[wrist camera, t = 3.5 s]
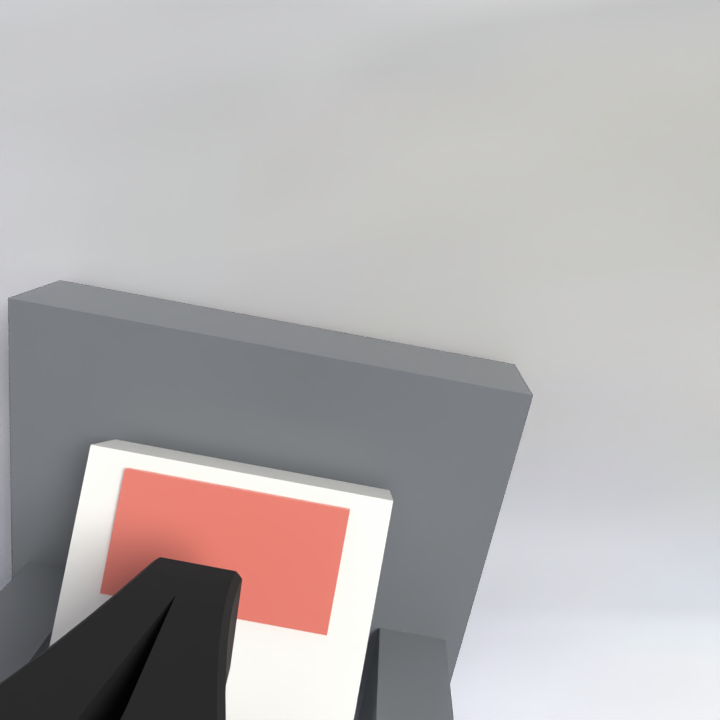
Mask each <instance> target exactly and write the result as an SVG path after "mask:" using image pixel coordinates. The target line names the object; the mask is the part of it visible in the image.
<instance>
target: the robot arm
mask: <svg viewBox="0 0 720 720" xmlns="http://www.w3.org/2000/svg"><path fill="white" fill-rule="evenodd" d="M241 585H242V578H241V577H240V575H239V574H238V573H237V571H233V570H227V569H222V568H216V567H211V566H206V565H200V564H195V563H190V562H184V561H179V560H173V559H168V558H163V557H159V558H158V559H156V560H154V561H153V562H152V563H150V564H149V565H148V566H147V567H146V568H145V569H143V570H142V571H141V572H140V573H139V574H138V575H136V576H135V577H134V578H133V579H132V580H131V581H130V582H128V583H127V584H126V585H125V586H124V587H123V588H121V589H120V590H119V591H118V592H117V593H116V594H114V595H113V596H112V597H111V598H110V599H108V600H107V601H106V602H105V603H104V604H102V605H101V606H100V607H99V608H98V609H96V610H95V611H94V612H93V613H92V614H90V615H89V616H88V617H87V618H85V619H84V620H83V621H82V622H80V623H79V624H78V625H76V626H75V627H74V628H73V629H71V630H70V631H69V632H68V633H66V634H65V635H64V636H63V637H61V638H60V639H59V640H57V641H56V642H55V643H54V644H52V645H51V646H50V647H49V648H47V649H46V650H45V651H43V652H42V653H41V654H39V655H38V656H37V657H35V658H34V659H33V660H31V661H30V662H29V663H27V664H26V665H24V666H23V667H22V668H20V669H19V670H18V671H16V672H15V673H13V674H12V675H11V676H9V677H8V678H6V679H5V680H4V681H2V682H1V683H0V720H226V683H227V679H228V675H229V671H230V666H231V659H232V651H233V644H234V636H235V629H236V622H237V614H238V607H239V600H240V592H241Z"/></svg>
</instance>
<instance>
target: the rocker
mask: <svg viewBox="0 0 720 720" xmlns="http://www.w3.org/2000/svg"><path fill="white" fill-rule="evenodd" d="M392 505H393V499H392V496H391V493H390V490H386V489H381V488H375V487H370V486H365V485H359V484H354V483H348V482H343V481H338V480H332V479H327V478H321V477H316V476H311V475H305V474H300V473H294V472H289V471H284V470H278V469H273V468H268V467H262V466H257V465H251V464H246V463H241V462H235V461H230V460H224V459H219V458H214V457H208V456H203V455H197V454H192V453H187V452H181V451H176V450H170V449H165V448H160V447H154V446H149V445H143V444H138V443H133V442H127V441H122V440H117V439H115V440H110V441H105V442H101V443H96V444H92V445H91V446H90V451H89V455H88V460H87V465H86V470H85V475H84V480H83V485H82V490H81V495H80V499H79V504H78V509H77V514H76V519H75V524H74V529H73V534H72V538H71V543H70V548H69V553H68V558H67V563H66V568H65V573H64V578H63V582H62V587H61V592H60V597H59V602H58V607H57V612H56V617H55V621H54V626H53V631H52V636H51V641H50V646H51V645H52V644H54V643H55V642H56V641H57V640H59V639H60V638H61V637H63V636H64V635H65V634H66V633H68V632H69V631H70V630H71V629H73V628H74V627H75V626H76V625H78V624H79V623H80V622H82V621H83V620H84V619H85V618H87V617H88V616H89V615H90V614H92V613H93V612H94V611H95V610H96V609H98V608H99V607H100V606H101V605H102V604H104V603H105V602H106V601H107V600H108V599H110V598H111V597H112V596H113V595H114V594H116V593H117V592H118V591H119V590H120V589H121V588H123V587H124V586H125V585H126V584H127V583H128V582H130V581H131V580H132V579H133V578H134V577H135V576H136V575H138V574H139V573H140V572H141V571H142V570H143V569H145V568H146V567H147V566H148V565H149V564H150V563H152V562H153V561H154V560H156V559H158V558H159V557H163V558H168V559H173V560H179V561H184V562H190V563H195V564H200V565H206V566H211V567H216V568H222V569H227V570H233V571H237V573H238V574H239V575H240V577H241V578H242V585H241V592H240V600H239V607H238V614H237V622H236V629H235V636H234V644H233V651H232V659H231V666H230V671H229V675H228V679H227V683H226V720H354V715H355V710H356V704H357V698H358V693H359V687H360V682H361V676H362V671H363V665H364V660H365V654H366V649H367V643H368V638H369V632H370V627H371V621H372V615H373V610H374V604H375V599H376V593H377V588H378V582H379V577H380V571H381V566H382V560H383V555H384V549H385V544H386V538H387V533H388V527H389V521H390V516H391V510H392ZM50 646H49V647H50Z"/></svg>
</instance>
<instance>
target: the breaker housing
mask: <svg viewBox="0 0 720 720" xmlns="http://www.w3.org/2000/svg"><path fill="white" fill-rule="evenodd" d="M8 323H9V396H10V470H11V544H12V580H11V581H10V582H9V583H8V584H7V585H6V587H5V588H4V589H3V590H2V591H1V592H0V683H1V682H2V681H4V680H5V679H6V678H8V677H9V676H11V675H12V674H13V673H15V672H16V671H18V670H19V669H20V668H22V667H23V666H24V665H26V664H27V663H29V662H30V661H31V660H33V659H34V658H35V657H37V656H38V655H39V654H41V653H42V652H43V651H45V650H46V649H47V648H49V646H50V641H51V636H52V631H53V626H54V621H55V617H56V612H57V607H58V602H59V597H60V592H61V587H62V582H63V578H64V573H65V568H66V563H67V558H68V553H69V548H70V543H71V538H72V534H73V529H74V524H75V519H76V514H77V509H78V504H79V499H80V495H81V490H82V485H83V480H84V475H85V470H86V465H87V460H88V455H89V451H90V446H91V445H92V444H96V443H101V442H105V441H110V440H115V439H117V440H122V441H127V442H133V443H138V444H143V445H149V446H154V447H160V448H165V449H170V450H176V451H181V452H187V453H192V454H197V455H203V456H208V457H214V458H219V459H224V460H230V461H235V462H241V463H246V464H251V465H257V466H262V467H268V468H273V469H278V470H284V471H289V472H294V473H300V474H305V475H311V476H316V477H321V478H327V479H332V480H338V481H343V482H348V483H354V484H359V485H365V486H370V487H375V488H381V489H386V490H390V493H391V496H392V499H393V505H392V510H391V516H390V521H389V527H388V533H387V538H386V544H385V549H384V555H383V560H382V566H381V571H380V577H379V582H378V588H377V593H376V599H375V604H374V610H373V615H372V621H371V627H370V632H369V638H368V643H367V649H366V654H365V660H364V665H363V671H362V676H361V682H360V687H359V693H358V698H357V704H356V710H355V715H354V720H454V719H453V710H452V700H451V690H450V681H451V678H452V675H453V671H454V668H455V664H456V661H457V657H458V654H459V650H460V647H461V643H462V640H463V636H464V633H465V629H466V626H467V623H468V619H469V616H470V612H471V609H472V605H473V602H474V598H475V595H476V591H477V588H478V584H479V581H480V578H481V574H482V571H483V567H484V564H485V560H486V557H487V553H488V550H489V546H490V543H491V539H492V536H493V532H494V529H495V526H496V522H497V519H498V515H499V512H500V508H501V505H502V501H503V498H504V494H505V491H506V487H507V484H508V481H509V477H510V474H511V470H512V467H513V463H514V460H515V456H516V453H517V449H518V446H519V442H520V439H521V435H522V432H523V429H524V425H525V422H526V418H527V415H528V411H529V408H530V404H531V401H532V397H533V394H532V393H531V391H530V389H529V388H528V386H527V384H526V383H525V381H524V379H523V377H522V376H521V374H520V372H519V371H518V369H517V367H516V366H515V364H509V363H504V362H498V361H493V360H488V359H482V358H477V357H471V356H466V355H461V354H455V353H450V352H444V351H439V350H434V349H428V348H423V347H417V346H412V345H407V344H401V343H396V342H390V341H385V340H380V339H374V338H369V337H363V336H358V335H353V334H347V333H342V332H336V331H331V330H326V329H320V328H315V327H309V326H304V325H299V324H293V323H288V322H282V321H277V320H272V319H266V318H261V317H255V316H250V315H245V314H239V313H234V312H228V311H223V310H218V309H212V308H207V307H201V306H196V305H191V304H185V303H180V302H174V301H169V300H164V299H158V298H153V297H147V296H142V295H137V294H131V293H126V292H120V291H115V290H110V289H104V288H99V287H93V286H88V285H83V284H77V283H72V282H67V281H61V280H60V281H57V282H54V283H51V284H48V285H45V286H42V287H39V288H36V289H33V290H30V291H27V292H24V293H21V294H19V295H16V296H13V297H10V298H8Z"/></svg>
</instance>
